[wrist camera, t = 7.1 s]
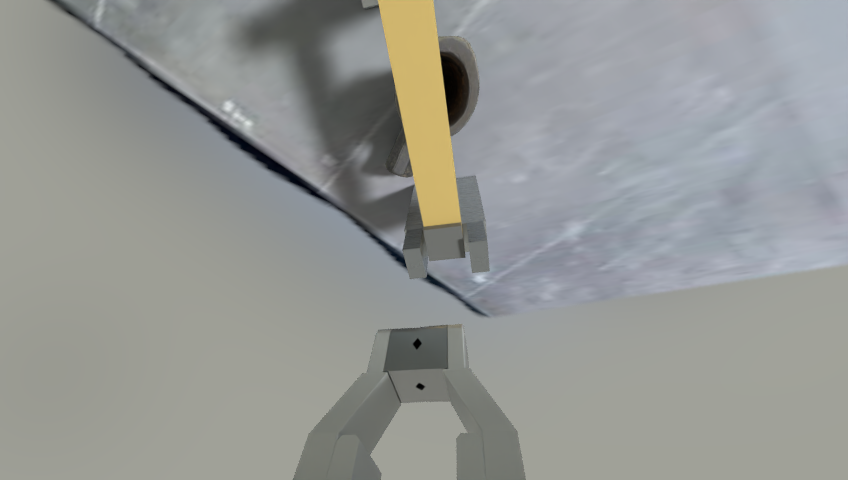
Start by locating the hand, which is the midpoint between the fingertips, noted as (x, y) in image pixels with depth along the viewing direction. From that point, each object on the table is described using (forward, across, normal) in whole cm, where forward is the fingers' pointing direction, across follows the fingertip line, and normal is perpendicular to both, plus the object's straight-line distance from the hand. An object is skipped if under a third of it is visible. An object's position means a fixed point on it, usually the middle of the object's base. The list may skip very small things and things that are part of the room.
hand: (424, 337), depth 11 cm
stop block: (+25, 0, +6) cm, 26 cm away
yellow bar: (+15, 0, -4) cm, 16 cm away
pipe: (+26, +1, -3) cm, 26 cm away
